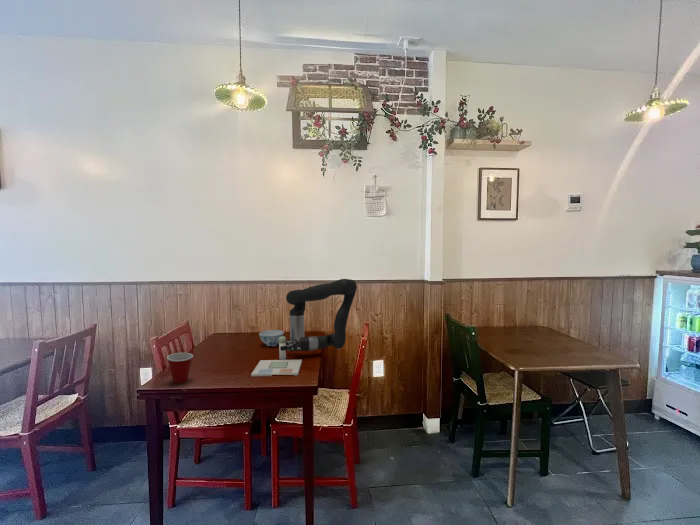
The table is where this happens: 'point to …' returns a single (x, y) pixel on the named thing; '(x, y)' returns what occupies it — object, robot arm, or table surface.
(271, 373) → the picture board
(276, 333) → the chinaware
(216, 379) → the table surface
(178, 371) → the plastic cup
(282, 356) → the marker
